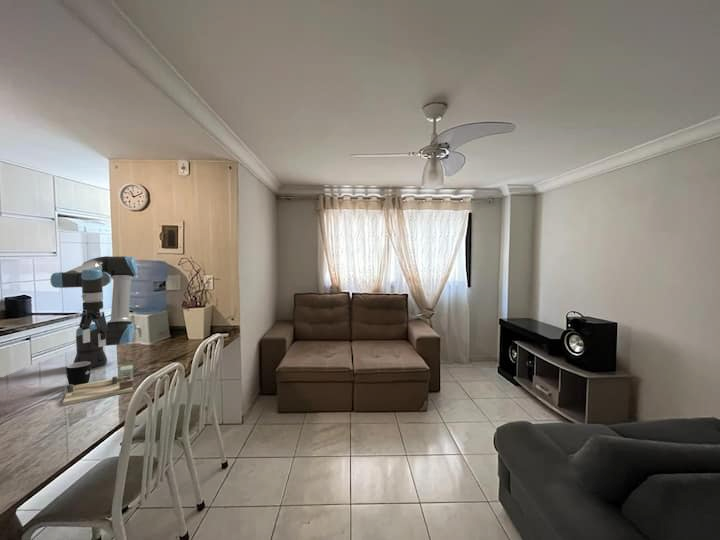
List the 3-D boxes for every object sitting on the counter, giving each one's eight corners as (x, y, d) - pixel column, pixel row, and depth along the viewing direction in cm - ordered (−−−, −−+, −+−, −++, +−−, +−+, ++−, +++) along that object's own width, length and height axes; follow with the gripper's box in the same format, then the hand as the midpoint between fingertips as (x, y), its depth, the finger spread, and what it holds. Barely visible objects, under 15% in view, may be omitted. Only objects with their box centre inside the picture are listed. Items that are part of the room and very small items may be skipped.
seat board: (70, 389, 148) (70, 379, 148) (132, 378, 162) (132, 369, 162) (62, 405, 132) (62, 395, 131) (132, 391, 146) (132, 382, 146)
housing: (120, 376, 159) (120, 366, 159) (132, 374, 162) (132, 364, 162) (120, 380, 154) (120, 370, 154) (132, 378, 157) (132, 368, 157)
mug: (87, 386, 151) (86, 366, 150) (63, 389, 147) (62, 368, 147) (96, 377, 162) (96, 358, 161) (74, 380, 158) (73, 360, 158)
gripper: (69, 300, 152) (71, 342, 154) (98, 304, 142) (99, 350, 143) (87, 298, 159) (89, 339, 160) (116, 302, 149) (118, 345, 150)
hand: (94, 344), depth 152 cm, fingers open, 13 cm apart
